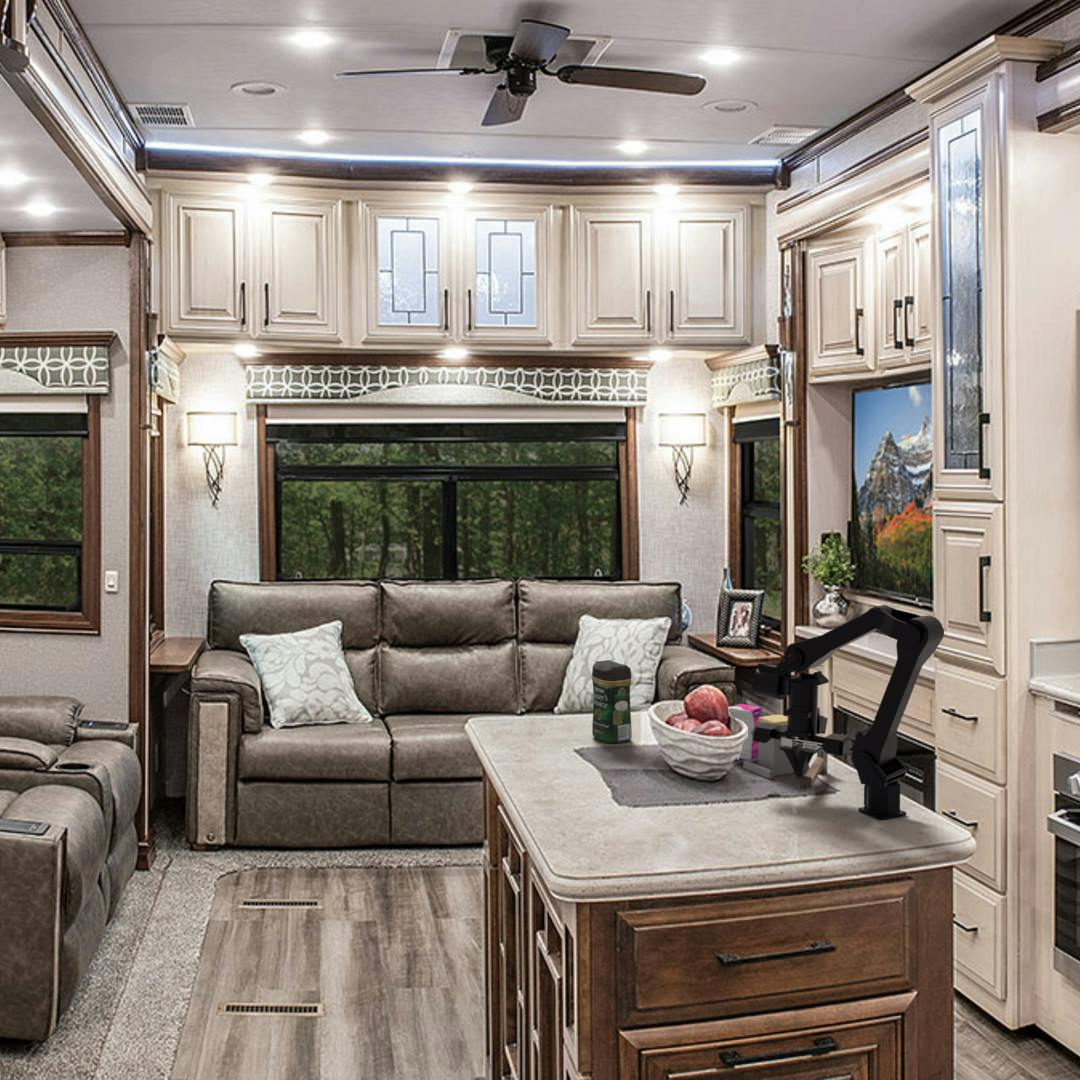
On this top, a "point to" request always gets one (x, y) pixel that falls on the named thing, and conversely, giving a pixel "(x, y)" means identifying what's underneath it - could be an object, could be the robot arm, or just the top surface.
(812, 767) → the bar
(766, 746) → the plug block
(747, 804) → the top surface
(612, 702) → the coffee jar
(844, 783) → the top surface
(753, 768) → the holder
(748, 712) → the supplement box
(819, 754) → the hinge post
